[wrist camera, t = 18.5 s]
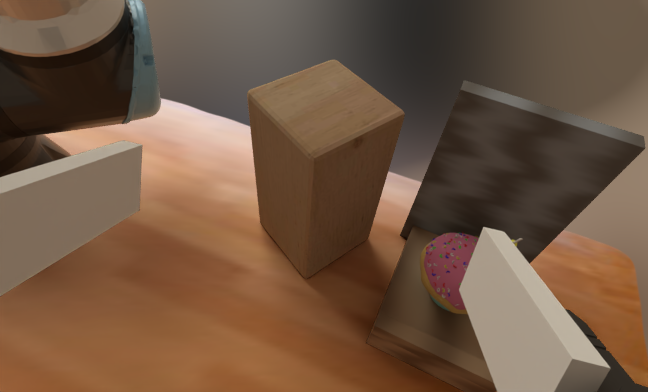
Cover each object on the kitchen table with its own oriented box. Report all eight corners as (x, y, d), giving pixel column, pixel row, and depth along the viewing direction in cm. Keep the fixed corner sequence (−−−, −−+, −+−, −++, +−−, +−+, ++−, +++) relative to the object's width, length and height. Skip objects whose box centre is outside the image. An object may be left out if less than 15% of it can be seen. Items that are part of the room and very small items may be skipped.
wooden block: (369, 238, 48) (408, 111, 32) (305, 281, 43) (314, 158, 28) (321, 188, 52) (334, 56, 37) (258, 222, 48) (244, 89, 33)
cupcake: (494, 275, 42) (552, 210, 33) (482, 346, 37) (546, 293, 28) (420, 245, 44) (455, 176, 35) (398, 309, 39) (433, 248, 30)
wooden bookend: (357, 338, 40) (408, 215, 23) (403, 226, 49) (464, 80, 32) (490, 404, 37) (665, 319, 20) (512, 271, 46) (643, 136, 29)
